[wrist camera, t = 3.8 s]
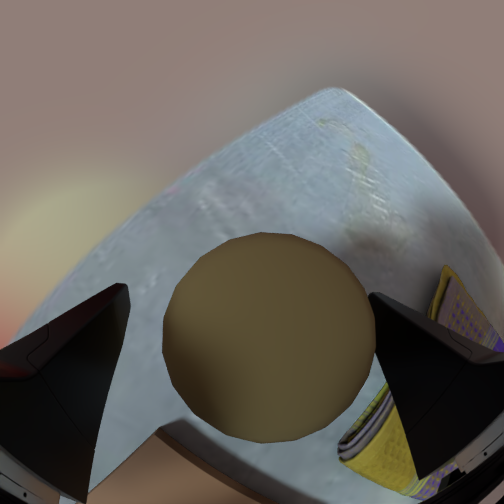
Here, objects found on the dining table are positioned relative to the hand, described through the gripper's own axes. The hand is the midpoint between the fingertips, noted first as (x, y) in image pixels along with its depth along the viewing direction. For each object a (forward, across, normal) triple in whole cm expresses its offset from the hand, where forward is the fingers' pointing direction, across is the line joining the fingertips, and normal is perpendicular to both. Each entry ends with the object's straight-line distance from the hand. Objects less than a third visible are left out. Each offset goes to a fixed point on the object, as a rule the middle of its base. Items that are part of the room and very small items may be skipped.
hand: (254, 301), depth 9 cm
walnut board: (-6, +4, +15) cm, 17 cm away
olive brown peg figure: (+4, 0, +6) cm, 7 cm away
